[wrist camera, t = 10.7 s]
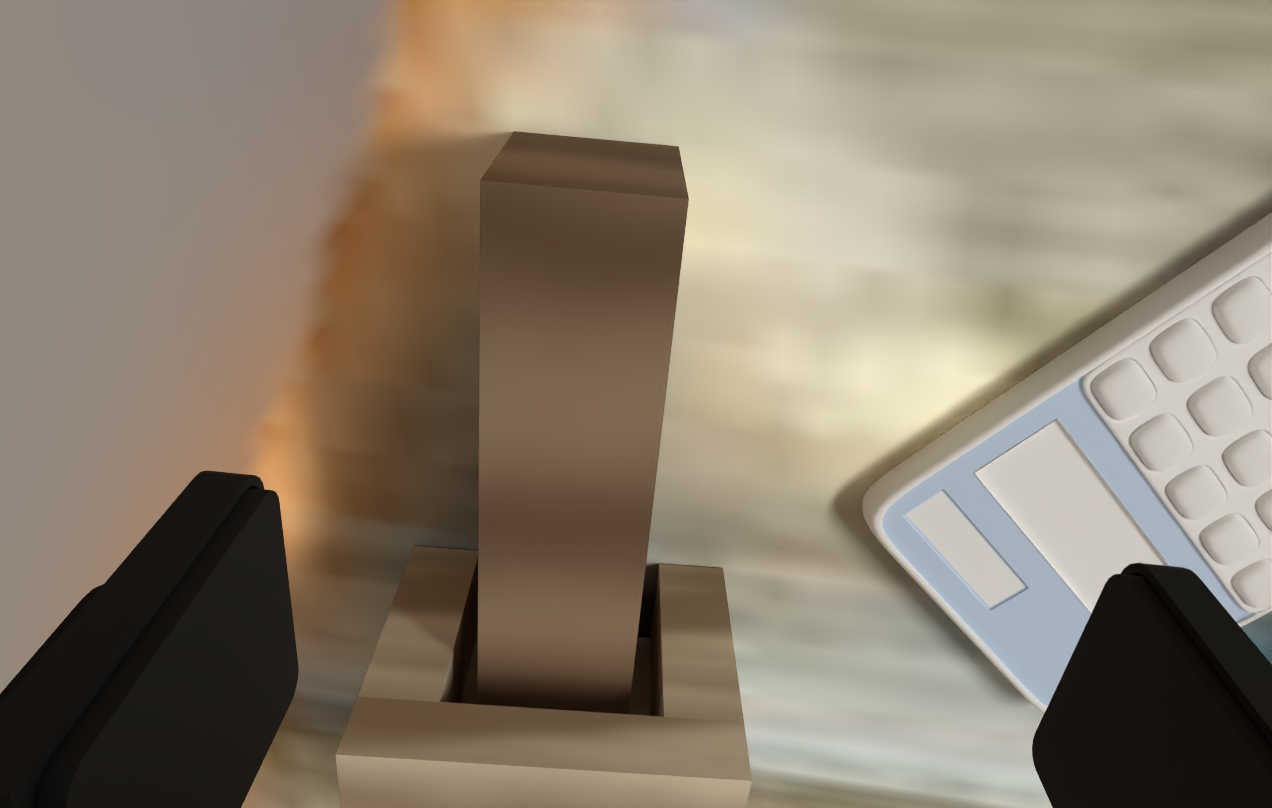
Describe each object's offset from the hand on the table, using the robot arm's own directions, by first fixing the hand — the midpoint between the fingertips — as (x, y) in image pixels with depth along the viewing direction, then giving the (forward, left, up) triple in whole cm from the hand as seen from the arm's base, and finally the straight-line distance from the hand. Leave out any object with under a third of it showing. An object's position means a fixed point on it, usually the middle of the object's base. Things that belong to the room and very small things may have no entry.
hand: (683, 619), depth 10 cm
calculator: (+7, +19, -18) cm, 27 cm away
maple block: (+17, -2, -17) cm, 24 cm away
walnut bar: (+7, -2, -18) cm, 19 cm away
